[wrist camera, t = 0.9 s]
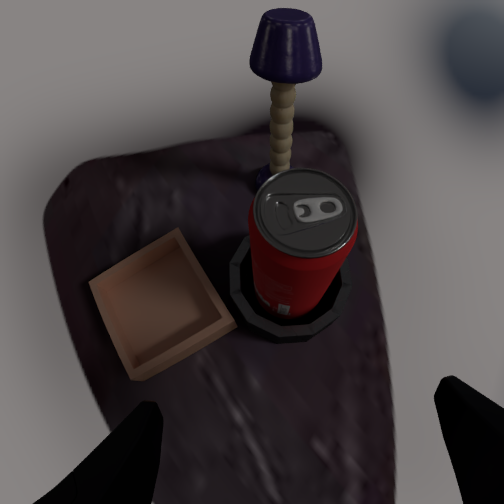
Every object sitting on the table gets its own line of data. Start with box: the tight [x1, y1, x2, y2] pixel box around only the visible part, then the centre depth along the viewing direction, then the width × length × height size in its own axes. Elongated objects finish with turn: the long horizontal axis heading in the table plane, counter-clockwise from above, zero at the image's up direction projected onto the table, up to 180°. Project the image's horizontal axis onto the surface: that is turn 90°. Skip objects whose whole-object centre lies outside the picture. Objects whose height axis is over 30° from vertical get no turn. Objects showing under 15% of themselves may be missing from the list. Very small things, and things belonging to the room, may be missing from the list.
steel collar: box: [229, 235, 352, 344], centre depth 23 cm, size 8×8×4 cm
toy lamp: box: [250, 8, 322, 191], centre depth 21 cm, size 5×5×17 cm
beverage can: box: [248, 168, 358, 319], centre depth 19 cm, size 5×5×12 cm
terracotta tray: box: [89, 228, 237, 381], centre depth 23 cm, size 9×9×2 cm
